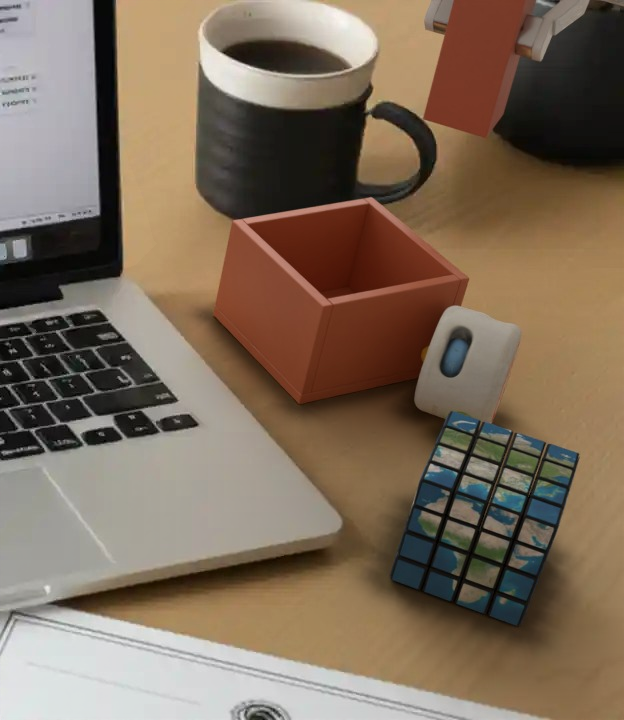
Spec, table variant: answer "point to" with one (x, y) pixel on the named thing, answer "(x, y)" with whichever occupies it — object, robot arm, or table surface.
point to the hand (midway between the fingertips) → (482, 41)
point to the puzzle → (501, 522)
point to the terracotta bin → (334, 296)
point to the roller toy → (467, 365)
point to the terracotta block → (476, 64)
